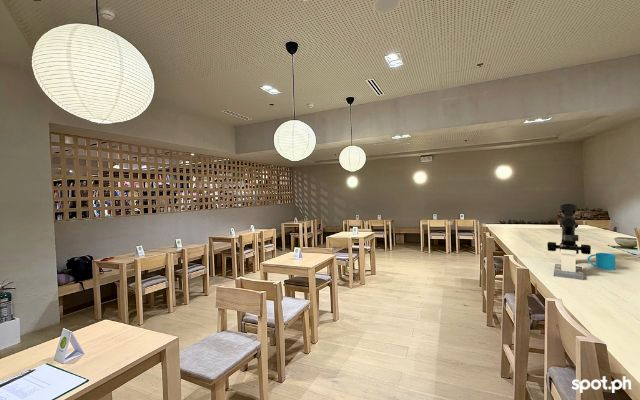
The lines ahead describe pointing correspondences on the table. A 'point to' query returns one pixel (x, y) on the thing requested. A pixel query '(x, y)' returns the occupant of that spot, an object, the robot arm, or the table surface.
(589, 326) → the table surface
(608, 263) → the mug
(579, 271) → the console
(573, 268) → the cream lidded box
